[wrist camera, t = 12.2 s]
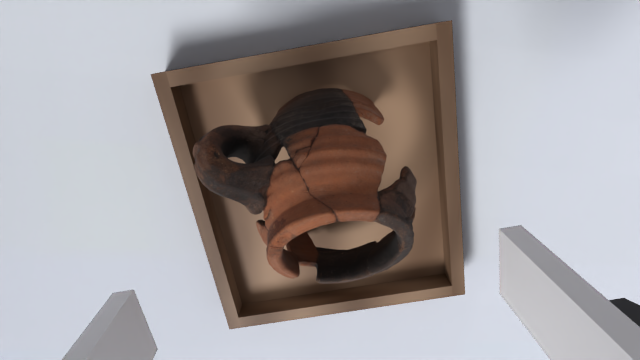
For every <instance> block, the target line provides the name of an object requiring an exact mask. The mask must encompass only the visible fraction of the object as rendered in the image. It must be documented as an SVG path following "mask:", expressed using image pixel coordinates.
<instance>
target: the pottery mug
mask: <svg viewBox="0 0 640 360" xmlns="http://www.w3.org/2000/svg"><path fill="white" fill-rule="evenodd" d="M360 117H362V118H364V119H367V120H369V121H371V122H373V123H375V124H377V125H381V124H382V123H383V122H384V117H383V115H382V113H381V112H380V111H379V110H378V108H377V107H376V106H375V105H374V103H373V102H372V101H371V100H370V99H369V98H367V97H366V96H364V95H362V94H359V93H357V92H354V91H349V90H344V89H339V88H325V89H324V88H321V89H316V90H313V91H308V92H304V93H302V94H299V95H297V96H296V97H294V98H293V99H291V100H290V101H288V102H287V103H286V104H285V105H283V106H282V107H281V108H280V109H279V110H278V112H277V114H276V116H275V117H274V118H273V120H272V122H271V123H270V124H269V125H266V124H265V125H262V126H241V125H223V126H220V127H217V128H214V129H212V130H211V131H210V132H208V133H206V134H205V135H203V136H202V137H201V138H200V139H199V141H198V142H196V143H195V144H194V147H193V156H194V159H195V165H194V169H195V172H196V174H197V176H198V178H199V179H200V181H201V182H202V184H203V185H204V186H205V187H206V188H208V189H209V190H210V191H212V192H214V193H216V194H218V195H220V196H223V197H226V198H229V199H231V200H234V201H236V202H239V203H241V204H243V205H244V206H245V207H246V208H247V210H248V211H249V212H250V213H251V214H254V215H257V214H260V213H261V212H262V211H264V216H263V218H264V220H265V221H264V220H258V221H256V226H257V229H258V232H259V234H260V236H261V238H262V240H263V242H264V243H265V244H266V245H267V248H266V252H267V253H266V256H267V260H268V263H269V265H270V266H271V267H272V268H273V269H274V270H275V271H276V272H278V273H279V274H281V275H283V276H285V277H287V278H291V279H294V278H296V277H299V275H300V269H299V265H300V266H309V267H316V269H317V276H316V281H317V282H319V283H321V284H335V283H345V282H351V281H356V280H360V279H364V278H367V277H369V276H372V275H374V274H377V273H380V272H383V271H385V270H388V269H389V268H391V267H392V266H394V265H396V264H397V263H399V262H400V261H401V260H402V259H404V258H405V257H406V256H407V255H408V254H409V252H410V251H411V249H412V248H413V243H414V232H413V225H412V223H413V220H414V218H415V211H416V208H415V204H416V195H415V189H416V184H417V180H416V178H415V176H414V174H413V173H412V171H411V169H410V168H409V167H407V166H404V167H403V168H402V169H401V172H400V178H399V179H398V180H396V181H395V182H394V183H393V184H392V185H390V186H389V187H387V188H385V189H382V190H380V191H378V187H379V185H380V183H381V180H382V178H381V177H382V174H383V171H384V167H385V162H386V157H387V155H386V153H385V152H384V149H383V147H382V145H381V144H380V142H379V141H378V140H376V139H374V138H372V137H370V136H367V135H366V131H367V130H366V128H365V126H364V123H363V122H362V120H361V119H360ZM282 147H285V149H286V151H287V153H288V155H289V157H290V159H287V160H282V161H279V162H278V163H276V164H275V160H276V158H277V157H278V154H279V152H280V150H281V148H282ZM230 157H237V158H239V159H242V160H243V161H244V162H245V163H246V164H244V163H238V162H234V161H232V160H230V159H228V158H230ZM336 221H340V222H345V221H367V222H377V223H379V224H381V225H384V226H387V227H389V228H391V229H392V230H393V231H392V232H390V233H389V234H387V235H386V236H385V237H383V238H382V239H381V240H380V241H379V242H376V241H373V242H370V243H367V244H364V245H362V246H359V247H356V248H352V249H348V250H337V249H329V248H322V247H316V246H315V245H314V243H313V241H312V239H311V238H310V236H309V235H308V233H307V232H306V231H308V230H311V229H313V228H316V227H319V226H322V225H327V224H331V223H334V222H336ZM285 245H286V249H287V250H285V249H284V246H285Z"/></svg>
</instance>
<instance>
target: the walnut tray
mask: <svg viewBox="0 0 640 360" xmlns="http://www.w3.org/2000/svg"><path fill="white" fill-rule="evenodd" d="M151 77H152V80H153V83H154V87H155V90H156V93H157V96H158V99H159V103H160V106H161V109H162V112H163V116H164V119H165V122H166V125H167V129H168V132H169V135H170V138H171V141H172V145H173V148H174V151H175V154H176V158H177V161H178V164H179V167H180V171H181V174H182V177H183V180H184V184H185V187H186V190H187V193H188V196H189V200H190V203H191V206H192V209H193V213H194V216H195V219H196V222H197V226H198V229H199V232H200V235H201V238H202V242H203V245H204V248H205V251H206V255H207V258H208V261H209V264H210V268H211V271H212V274H213V277H214V281H215V284H216V287H217V290H218V293H219V297H220V300H221V303H222V306H223V310H224V313H225V316H226V319H227V323H228V326H229V329H234V328H241V327H248V326H255V325H261V324H268V323H275V322H282V321H288V320H295V319H302V318H308V317H315V316H322V315H329V314H335V313H342V312H349V311H356V310H362V309H369V308H376V307H382V306H389V305H396V304H403V303H409V302H416V301H423V300H430V299H436V298H443V297H450V296H456V295H463V294H465V283H464V262H463V241H462V220H461V199H460V178H459V157H458V136H457V115H456V94H455V73H454V52H453V31H452V20H451V21H444V22H438V23H432V24H427V25H421V26H416V27H410V28H404V29H399V30H393V31H388V32H382V33H377V34H371V35H365V36H360V37H354V38H349V39H343V40H338V41H332V42H326V43H321V44H315V45H310V46H304V47H299V48H293V49H287V50H282V51H276V52H271V53H265V54H260V55H254V56H248V57H243V58H237V59H232V60H226V61H221V62H215V63H209V64H204V65H198V66H193V67H187V68H182V69H176V70H170V71H165V72H160V73H155V74H151ZM321 88H324V89H325V88H339V89H344V90H349V91H354V92H357V93H359V94H362V95H364V96H366V97H367V98H369V99H370V100H371V101H372V102H373V103H374V105H375V106H376V107H377V108H378V110H379V111H380V112H381V113H382V115H383V117H384V122H383V123H382V124H381V125H377V124H375V123H373V122H371V121H369V120H367V119H364V118H362V117H360V119H361V120H362V122H363V123H364V126H365V128H366V130H367V131H366V135H367V136H370V137H372V138H374V139H376V140H378V141H379V142H380V144H381V145H382V147H383V149H384V152H385V153H386V155H387V157H386V162H385V167H384V171H383V174H382V177H381V178H382V180H381V183H380V185H379V187H378V191H380V190H382V189H385V188H387V187H389V186H390V185H392V184H393V183H394V182H395V181H396V180H398V179H399V178H400V172H401V169H402V168H403V167H404V166H407V167H409V168H410V169H411V171H412V173H413V174H414V176H415V178H416V180H417V184H416V189H415V195H416V204H415V208H416V211H415V218H414V220H413V223H412V225H413V232H414V243H413V248H412V249H411V251H410V252H409V254H408V255H407V256H406V257H405V258H404V259H402V260H401V261H400V262H399V263H397V264H396V265H394V266H392V267H391V268H389V269H388V270H385V271H383V272H380V273H377V274H374V275H372V276H369V277H367V278H364V279H360V280H356V281H351V282H345V283H335V284H321V283H319V282H317V281H316V276H317V269H316V267H309V266H300V265H299V269H300V275H299V277H296V278H294V279H291V278H287V277H285V276H283V275H281V274H279V273H278V272H276V271H275V270H274V269H273V268H272V267H271V266H270V265H269V263H268V260H267V256H266V253H267V252H266V248H267V245H266V244H265V243H264V242H263V240H262V238H261V236H260V234H259V232H258V229H257V226H256V221H258V220H264V218H263V216H264V211H262V212H261V213H260V214H257V215H254V214H251V213H250V212H249V211H248V210H247V208H246V207H245V206H244V205H243V204H241V203H239V202H236V201H234V200H231V199H229V198H226V197H223V196H220V195H218V194H216V193H214V192H212V191H210V190H209V189H208V188H206V187H205V186H204V185H203V184H202V182H201V181H200V179H199V178H198V176H197V174H196V172H195V169H194V165H195V159H194V156H193V147H194V144H195V143H196V142H198V141H199V139H200V138H201V137H202V136H203V135H205V134H206V133H208V132H210V131H211V130H212V129H214V128H217V127H220V126H223V125H241V126H262V125H265V124H266V125H269V124H270V123H271V122H272V120H273V118H274V117H275V116H276V114H277V112H278V110H279V109H280V108H281V107H282V106H283V105H285V104H286V103H287V102H288V101H290V100H291V99H293V98H294V97H296V96H297V95H299V94H302V93H304V92H308V91H313V90H316V89H321ZM228 159H230V160H232V161H234V162H238V163H244V164H246V163H245V162H244V161H243V160H242V159H239V158H237V157H230V158H228ZM287 159H290V157H289V155H288V153H287V151H286V149H285V147H282V148H281V150H280V152H279V154H278V157H277V158H276V160H275V164H276V163H278V162H279V161H282V160H287ZM264 221H265V220H264ZM392 231H393V230H392V229H391V228H389V227H387V226H384V225H381V224H379V223H377V222H367V221H345V222H340V221H336V222H334V223H331V224H327V225H322V226H319V227H316V228H313V229H311V230H308V231H306V232H307V233H308V235H309V236H310V238H311V239H312V241H313V243H314V245H315V246H316V247H322V248H329V249H337V250H348V249H352V248H356V247H359V246H362V245H364V244H367V243H370V242H373V241H376V242H379V241H380V240H381V239H382V238H383V237H385V236H386V235H387V234H389V233H390V232H392ZM284 249H285V250H287V249H286V245H285V246H284Z"/></svg>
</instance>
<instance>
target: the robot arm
mask: <svg viewBox="0 0 640 360" xmlns="http://www.w3.org/2000/svg"><path fill="white" fill-rule="evenodd" d="M499 282H500V295H501V296H502V298H503V299H504V300H505V301H506V303H507V304H508V305H509V307H510V308H511V309H512V311H513V312H514V313H515V314H516V316H517V317H518V318H519V320H520V321H521V322H522V324H523V325H524V326H525V328H526V329H527V330H528V331H529V333H530V334H531V335H532V337H533V338H534V339H535V341H536V342H537V343H538V345H539V346H540V347H541V348H542V350H543V351H544V352H545V354H546V355H547V356H548V358H549V359H550V360H640V305H638V304H636V303H634V302H631V301H629V300H627V299H625V298H621V299H614V300H608V299H606V298H605V297H604V296H603V295H602V294H601V293H599V292H598V291H597V290H596V289H595V288H594V287H592V286H591V285H590V284H589V283H588V282H587V281H585V280H584V279H583V278H582V277H581V276H580V275H578V274H577V273H576V272H575V271H574V270H573V269H571V268H570V267H569V266H568V265H567V264H566V263H564V262H563V261H562V260H561V259H560V258H559V257H557V256H556V255H555V254H554V253H553V252H552V251H550V250H549V249H548V248H547V247H546V246H545V245H543V244H542V243H541V242H540V241H539V240H538V239H536V238H535V237H534V236H533V235H532V234H531V233H529V232H528V231H527V230H526V229H525V228H524V227H522V226H521V225H519V226H513V227H507V228H501V229H499ZM156 352H157V346H156V344H155V341H154V339H153V336H152V334H151V331H150V329H149V326H148V324H147V321H146V319H145V316H144V314H143V312H142V309H141V307H140V304H139V302H138V299H137V297H136V294H135V292H134V290H128V291H122V292H116V293H112V295H111V296H110V297H109V299H108V300H107V301H106V303H105V304H104V305H103V307H102V308H101V309H100V310H99V312H98V313H97V314H96V316H95V317H94V318H93V320H92V321H91V322H90V324H89V325H88V326H87V328H86V329H85V330H84V331H83V333H82V334H81V335H80V337H79V338H78V339H77V341H76V342H75V343H74V345H73V346H72V347H71V349H70V350H69V351H68V352H67V354H66V355H65V356H64V358H63V359H62V360H153V358H154V356H155V354H156Z"/></svg>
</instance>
